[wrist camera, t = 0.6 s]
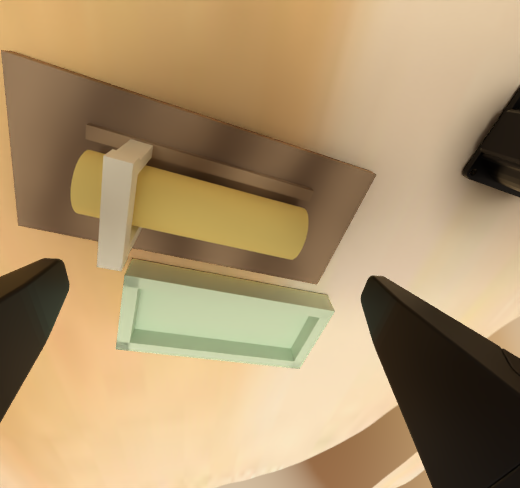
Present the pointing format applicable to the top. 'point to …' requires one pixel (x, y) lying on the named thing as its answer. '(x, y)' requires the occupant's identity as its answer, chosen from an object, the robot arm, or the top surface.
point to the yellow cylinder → (198, 209)
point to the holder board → (166, 165)
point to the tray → (218, 316)
